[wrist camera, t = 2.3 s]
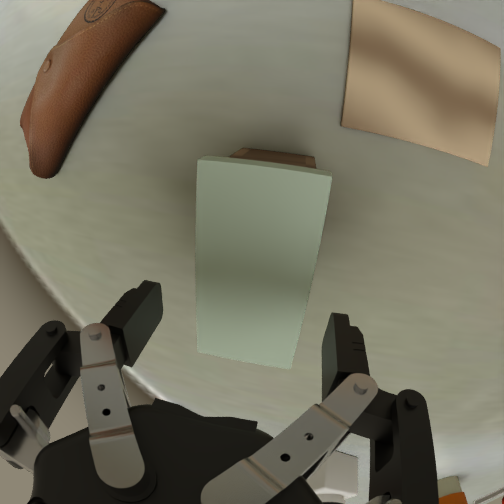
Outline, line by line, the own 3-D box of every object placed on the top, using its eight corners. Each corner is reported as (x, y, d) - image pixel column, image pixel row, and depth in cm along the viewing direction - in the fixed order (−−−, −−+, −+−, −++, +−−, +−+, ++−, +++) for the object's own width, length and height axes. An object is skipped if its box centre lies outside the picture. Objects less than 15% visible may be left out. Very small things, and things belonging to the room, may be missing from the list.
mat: (352, -3, 14) (354, -6, 14) (496, 49, 13) (500, 48, 12) (340, 125, 19) (341, 126, 18) (483, 165, 17) (487, 167, 17)
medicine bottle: (295, 460, 40) (287, 524, 29) (326, 446, 36) (322, 518, 26) (327, 470, 41) (323, 530, 30) (358, 457, 37) (358, 522, 27)
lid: (211, 152, 15) (197, 159, 13) (328, 167, 14) (332, 176, 13) (206, 330, 21) (197, 352, 19) (292, 345, 20) (290, 369, 18)
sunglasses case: (109, -27, 15) (89, -34, 10) (169, 8, 19) (166, 9, 15) (17, 128, 22) (-10, 161, 18) (68, 154, 27) (50, 190, 22)
